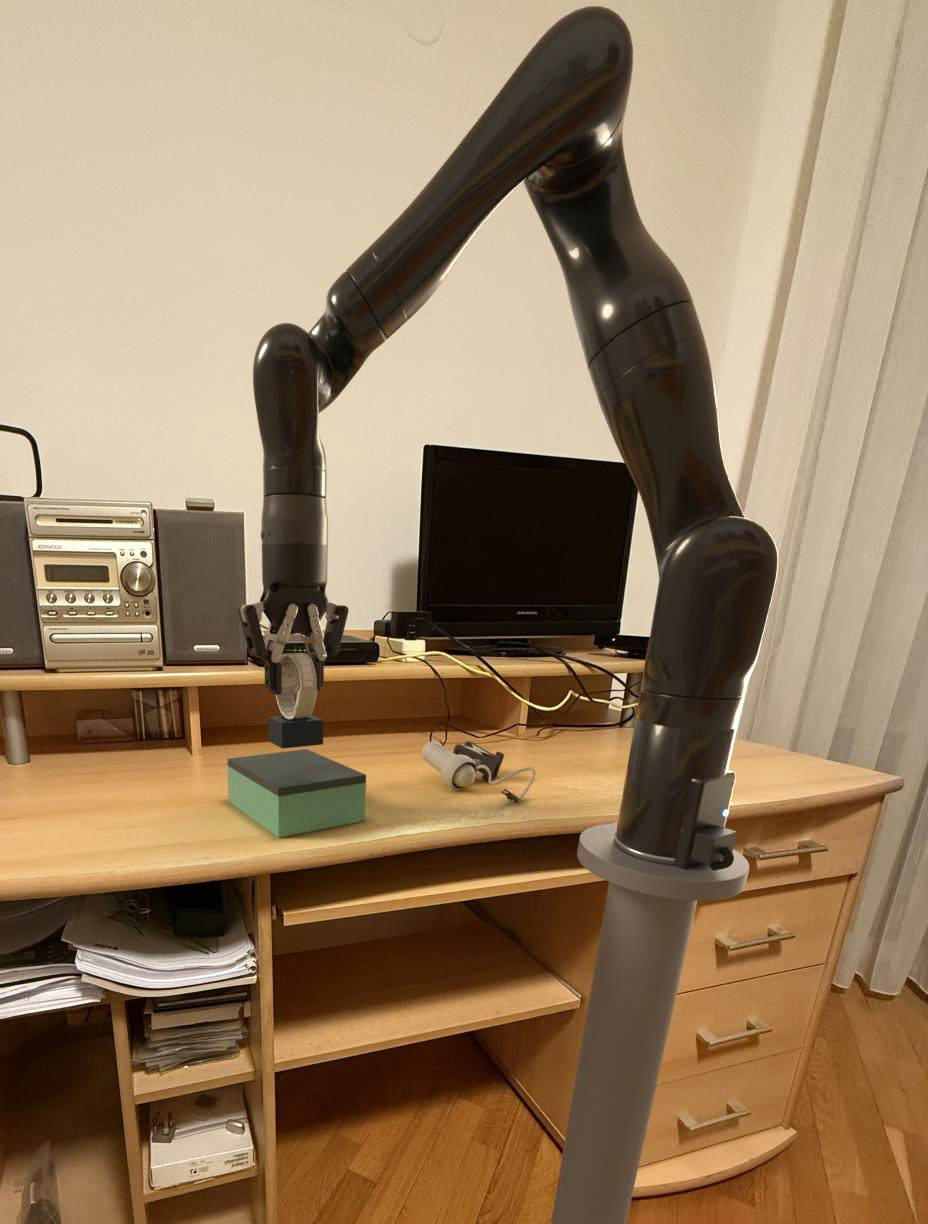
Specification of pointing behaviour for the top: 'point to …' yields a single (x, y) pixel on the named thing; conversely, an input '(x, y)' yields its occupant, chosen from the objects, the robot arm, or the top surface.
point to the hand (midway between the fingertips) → (294, 691)
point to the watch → (296, 705)
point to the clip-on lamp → (468, 765)
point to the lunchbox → (296, 791)
